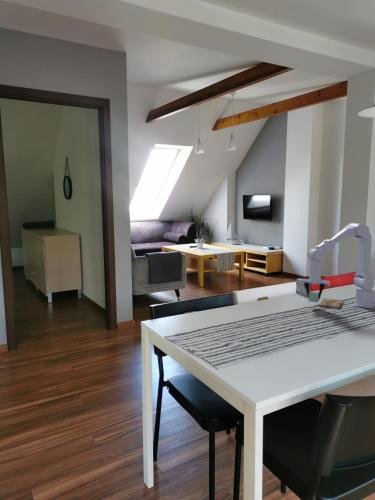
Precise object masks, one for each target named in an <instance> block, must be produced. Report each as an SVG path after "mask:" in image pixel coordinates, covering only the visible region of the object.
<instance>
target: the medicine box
mask: <svg viewBox="0 0 375 500" xmlns="http://www.w3.org/2000/svg"><path fill="white" fill-rule="evenodd" d="M300 279H301V278H296V284H295V293H296V294H297V295H300V294H301V295H300V296H302V295H303V297H308V295H307V291H306V289H305V287H304V283H300ZM310 291H311V288H310V289H309V292H310Z"/></svg>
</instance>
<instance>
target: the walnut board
mask: <svg viewBox="0 0 375 500" xmlns="http://www.w3.org/2000/svg"><path fill="white" fill-rule="evenodd" d="M343 302H344V301H343V300H342V299H334V298H333V299H332V298H322V299H321V301H320V303H319V305H318V306H319V307H321V308H330V309H338V310H340V309H341V306H342V305H343Z"/></svg>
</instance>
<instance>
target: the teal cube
mask: <svg viewBox="0 0 375 500" xmlns="http://www.w3.org/2000/svg"><path fill="white" fill-rule="evenodd" d="M319 301H320V299H319V291H314V290H310V292H309V298H308V303H309V302H310V303H311V302H312V303H319Z"/></svg>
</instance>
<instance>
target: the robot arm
mask: <svg viewBox="0 0 375 500" xmlns="http://www.w3.org/2000/svg"><path fill="white" fill-rule="evenodd" d="M347 237H355V238H356V239H357V240H358V241H359V256H358V270H357V271H356V272H355V275H354V277H353V285H355V299H354V303H353V306H354V307H359V308H367V309H374V308H375V290H374V289H373V288H374V286H375V280H374V275H373V273H371V261H372V260H371V259H372V243H373V241H372V240H373V237H372V234H371V232H370V227H369V226H368V225H366V224H365V223H357V222H350V223H349V224H347V225H345V226H344V227H343V228H342V230H340V231H339V232H338V233H337V234H335V235H334V236H333V237H331V238H330V239H323V240H322V242H321V243H320V244H318V245H316V246H315V247H314V248H311V249H310V250H308V253H307V257H308V259H309V263H308V264H309V265H308V267H309V270H308V273H309V274H308V278H299V279H300V283H304V287H305V289H306V291H307V295H308V296H307V299H309V289H310V290H311V285H319V287H318V288H319V290H318V292H319V300H320V299H321V297H322V293H323V290H324V289H325V286H328V287H330V285H331V284H330V283H331V282H330V280H323V279H321V278H322V260H323V259H324V258H325V255H327V254H328V253H330V252H331V251H333V250H334V249H335V245H337V244H338V243H340V242H341V241H343V240H345V239H346V238H347Z"/></svg>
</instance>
